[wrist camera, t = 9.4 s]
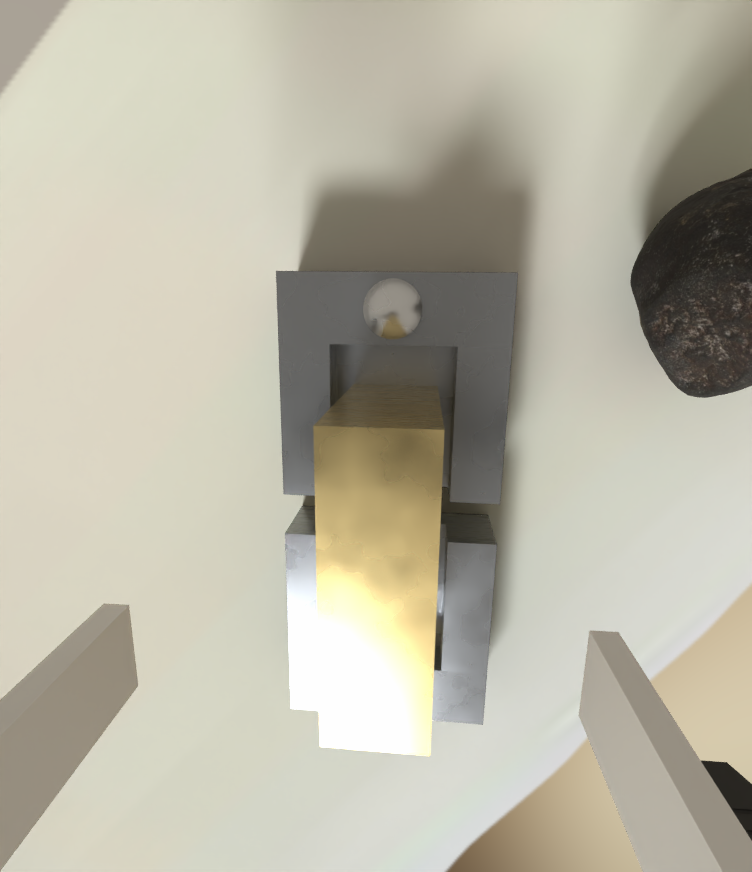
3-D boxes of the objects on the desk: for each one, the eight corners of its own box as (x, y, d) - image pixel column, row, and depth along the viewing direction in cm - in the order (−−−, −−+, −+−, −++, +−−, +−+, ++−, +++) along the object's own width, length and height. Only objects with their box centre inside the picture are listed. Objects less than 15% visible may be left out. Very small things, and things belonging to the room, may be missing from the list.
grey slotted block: (305, 663, 30) (286, 720, 26) (296, 276, 25) (270, 269, 21) (476, 676, 29) (484, 737, 25) (504, 277, 24) (521, 271, 20)
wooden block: (353, 606, 27) (319, 746, 18) (353, 384, 24) (313, 425, 16) (428, 611, 27) (430, 756, 18) (437, 385, 24) (444, 430, 15)
